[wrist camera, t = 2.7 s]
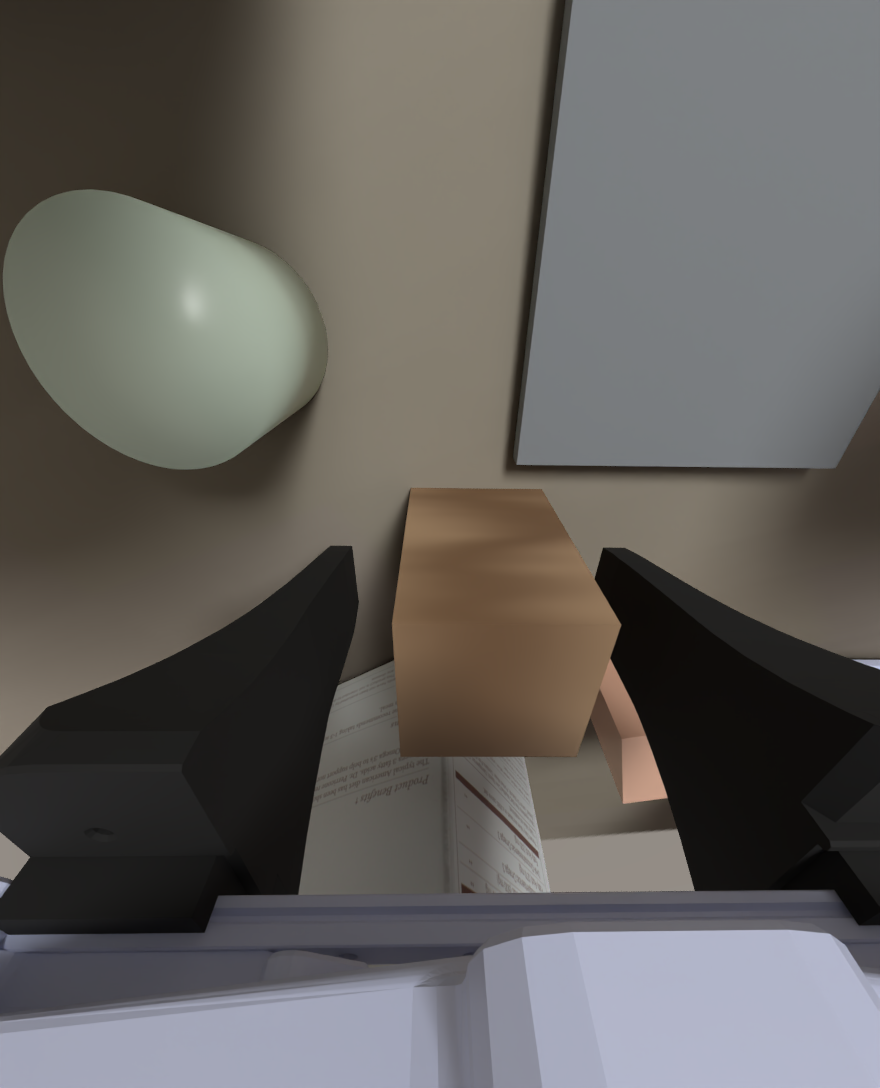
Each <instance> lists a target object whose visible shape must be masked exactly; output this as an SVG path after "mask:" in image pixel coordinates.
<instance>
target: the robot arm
mask: <svg viewBox="0 0 880 1088" xmlns="http://www.w3.org/2000/svg"><path fill="white" fill-rule="evenodd" d="M595 581H596V583H597V584H598V586H599V588H600V589H601V591H602V593H603V595H604V596H605V598H606V600H607V601H608V603H609V605H610V607H611V608H612V610H613V612H614V613H615V615H616V617H617V618H618V620H619V622H620V624H621V627H620V630H619V633H618V636H617V639H616V642H615V645H614V648H613V651H612V654H611V657H610V659H611V661H612V663H613V665H614V667H615V669H616V671H617V673H618V675H619V677H620V679H621V681H622V683H623V685H624V687H625V689H626V691H627V693H628V695H629V697H630V699H631V701H632V703H633V705H634V707H635V710H636V712H637V714H638V716H639V719H640V721H641V724H642V727H643V729H644V732H645V734H646V737H647V740H648V742H649V745H650V748H651V750H652V753H653V756H654V759H655V762H656V765H657V768H658V770H659V773H660V776H661V779H662V782H663V785H664V788H665V791H666V794H667V797H668V800H669V803H670V807H671V810H672V813H673V816H674V819H675V823H676V826H677V829H678V832H679V835H680V839H681V842H682V846H683V850H684V853H685V857H686V860H687V864H688V868H689V871H690V875H691V878H692V882H693V886H694V889H695V891H662V892H661V891H660V892H657V891H656V892H555V893H554V892H548V893H440V894H333V895H298V893H299V887H300V880H301V873H302V866H303V860H304V853H305V846H306V840H307V833H308V827H309V821H310V815H311V809H312V803H313V797H314V791H315V786H316V780H317V775H318V769H319V764H320V759H321V753H322V748H323V743H324V738H325V733H326V728H327V723H328V718H329V714H330V710H331V706H332V702H333V699H334V696H335V692H336V689H337V686H338V683H339V679H340V676H341V673H342V670H343V667H344V663H345V660H346V657H347V653H348V650H349V647H350V644H351V640H352V637H353V633H354V628H355V623H356V617H357V610H358V604H359V600H358V592H357V584H356V575H355V567H354V558H353V550H352V546H330V547H329V548H327V549H326V550H325V551H324V552H323V553H322V554H320V555H319V556H318V557H317V558H316V559H315V560H314V561H313V562H311V563H310V564H309V565H308V566H307V567H306V568H305V569H303V570H302V571H301V572H300V573H299V574H298V575H296V576H295V577H294V578H293V579H292V580H291V581H289V582H288V583H287V584H286V585H284V586H283V587H282V588H280V589H279V590H278V591H276V592H275V593H274V594H273V595H271V596H270V597H269V598H267V599H266V600H265V601H263V602H262V603H261V604H259V605H258V606H257V607H255V608H254V609H252V610H251V611H249V612H248V613H246V614H245V615H243V616H242V617H240V618H239V619H237V620H235V621H234V622H232V623H231V624H229V625H228V626H226V627H224V628H223V629H221V630H219V631H217V632H216V633H214V634H212V635H210V636H208V637H206V638H205V639H203V640H201V641H199V642H197V643H195V644H193V645H192V646H190V647H188V648H186V649H184V650H182V651H180V652H178V653H176V654H174V655H172V656H170V657H168V658H166V659H164V660H162V661H160V662H158V663H156V664H153V665H151V666H149V667H147V668H144V669H142V670H140V671H138V672H136V673H133V674H131V675H129V676H126V677H124V678H122V679H119V680H117V681H114V682H112V683H109V684H107V685H104V686H102V687H99V688H96V689H94V690H91V691H89V692H86V693H84V694H81V695H78V696H76V697H73V698H71V699H68V700H65V701H63V702H60V703H57V704H54V705H52V706H49V707H47V708H46V709H45V710H44V711H43V712H42V713H41V714H40V715H39V717H38V718H37V719H36V720H35V721H34V722H33V723H32V724H31V725H30V726H29V727H28V728H27V729H26V730H25V731H24V732H23V733H22V734H21V735H20V736H19V737H18V738H17V739H16V740H15V741H14V742H13V743H12V744H11V745H10V746H9V747H8V749H7V750H6V751H5V752H4V753H3V754H2V755H1V756H0V832H1V833H2V834H3V835H5V836H6V837H7V838H8V839H9V840H10V841H12V842H13V843H14V844H15V845H17V846H18V847H19V848H20V849H21V850H22V851H24V852H25V853H26V854H27V855H29V856H30V858H29V860H28V861H27V863H26V864H25V865H24V867H23V868H22V869H21V871H20V872H19V873H18V875H17V876H16V877H15V879H14V880H11V879H8V878H4V877H0V1088H880V660H851V659H849V658H846V657H843V656H840V655H838V654H835V653H832V652H830V651H827V650H825V649H822V648H820V647H817V646H814V645H812V644H809V643H807V642H804V641H802V640H799V639H797V638H794V637H792V636H790V635H787V634H785V633H783V632H780V631H778V630H776V629H774V628H772V627H769V626H767V625H765V624H763V623H761V622H759V621H756V620H754V619H752V618H750V617H748V616H746V615H744V614H742V613H740V612H738V611H736V610H734V609H732V608H730V607H728V606H726V605H724V604H722V603H721V602H719V601H717V600H715V599H713V598H711V597H709V596H708V595H706V594H704V593H702V592H700V591H699V590H697V589H695V588H693V587H692V586H690V585H688V584H687V583H685V582H683V581H681V580H680V579H678V578H676V577H675V576H673V575H671V574H670V573H668V572H666V571H665V570H663V569H661V568H660V567H658V566H656V565H655V564H653V563H651V562H650V561H648V560H646V559H645V558H643V557H641V556H639V555H638V554H636V553H634V552H632V551H630V550H628V549H626V548H603V550H602V554H601V557H600V561H599V565H598V569H597V572H596V576H595ZM382 964H397V965H389V966H381V967H373V968H369V967H368V965H382Z"/></svg>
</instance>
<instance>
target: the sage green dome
mask: <svg viewBox="0 0 880 1088" xmlns="http://www.w3.org/2000/svg"><path fill="white" fill-rule="evenodd" d="M3 293H4V299H5V305H6V310H7V315H8V318H9V321H10V325H11V328H12V331H13V334H14V336H15V339H16V341H17V343H18V346H19V348H20V350H21V352H22V354H23V356H24V358H25V360H26V361H27V363H28V365H29V367H30V369H31V370H32V372H33V373H34V375H35V376H36V378H37V379H38V381H39V382H40V384H41V385H42V386H43V388H44V389H45V390H46V391H47V393H48V394H49V395H50V396H51V398H52V399H53V400H54V401H55V402H56V403H57V404H58V405H59V406H60V407H61V409H62V410H63V411H64V412H65V413H66V414H67V415H68V416H69V417H71V418H72V419H73V420H74V421H75V422H76V423H77V424H78V425H79V426H81V427H82V428H83V429H84V430H86V431H87V432H88V433H90V434H91V435H92V436H94V437H95V438H97V439H98V440H100V441H101V442H103V443H104V444H106V445H108V446H109V447H111V448H113V449H115V450H117V451H118V452H120V453H122V454H124V455H126V456H129V457H131V458H134V459H136V460H139V461H141V462H144V463H148V464H151V465H154V466H159V467H164V468H170V469H181V470H190V469H202V468H207V467H212V466H215V465H218V464H221V463H224V462H226V461H227V460H229V459H231V458H233V457H235V456H236V455H238V454H239V453H240V452H242V451H243V450H244V449H246V448H247V447H249V446H250V445H251V444H253V443H254V442H255V441H257V440H258V439H260V438H261V437H262V436H264V435H265V434H266V433H268V432H269V431H270V430H272V429H273V428H275V427H276V426H277V425H279V424H280V423H281V422H283V421H284V420H285V419H287V418H288V417H290V416H291V415H292V414H294V413H295V412H296V411H298V410H299V409H300V408H302V407H303V406H304V405H306V404H307V403H308V402H309V401H310V400H311V399H312V398H313V396H314V395H315V393H316V392H317V390H318V389H319V387H320V385H321V383H322V380H323V377H324V374H325V371H326V366H327V358H328V342H327V334H326V329H325V324H324V321H323V318H322V314H321V312H320V310H319V307H318V305H317V302H316V301H315V299H314V297H313V295H312V293H311V291H310V290H309V288H308V287H307V285H306V284H305V283H304V281H303V280H302V279H301V277H300V276H299V275H298V274H297V273H296V272H295V270H294V269H293V268H292V267H291V266H289V265H288V264H287V263H286V262H285V261H284V260H283V259H282V258H280V257H279V256H277V255H276V254H275V253H273V252H272V251H270V250H268V249H267V248H265V247H263V246H261V245H259V244H256V243H254V242H252V241H249V240H246V239H244V238H241V237H238V236H236V235H233V234H230V233H227V232H225V231H222V230H219V229H217V228H214V227H211V226H209V225H206V224H203V223H201V222H198V221H195V220H192V219H190V218H187V217H184V216H182V215H179V214H176V213H174V212H171V211H168V210H166V209H163V208H160V207H157V206H155V205H152V204H149V203H147V202H144V201H141V200H139V199H136V198H133V197H130V196H126V195H123V194H119V193H115V192H111V191H102V190H92V189H88V190H73V191H68V192H65V193H61V194H57V195H54V196H52V197H50V198H48V199H46V200H44V201H42V202H40V203H39V204H37V205H36V206H35V207H34V208H32V209H31V210H30V211H29V212H27V213H26V215H25V216H24V217H23V218H22V220H21V221H20V222H19V224H18V225H17V226H16V228H15V230H14V232H13V234H12V236H11V238H10V240H9V243H8V247H7V250H6V254H5V258H4V267H3Z"/></svg>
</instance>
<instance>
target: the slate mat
mask: <svg viewBox="0 0 880 1088" xmlns="http://www.w3.org/2000/svg"><path fill="white" fill-rule="evenodd" d="M879 390H880V0H565V9H564V18H563V26H562V35H561V44H560V53H559V61H558V70H557V79H556V87H555V96H554V105H553V114H552V122H551V131H550V140H549V148H548V157H547V166H546V175H545V183H544V192H543V201H542V210H541V218H540V227H539V236H538V244H537V253H536V262H535V271H534V279H533V288H532V297H531V305H530V314H529V323H528V332H527V340H526V349H525V358H524V366H523V375H522V384H521V393H520V401H519V410H518V419H517V428H516V436H515V445H514V454H513V459H514V461H515V463H516V464H517V465H577V466H665V467H753V468H836V466H837V464H838V463H839V461H840V459H841V457H842V455H843V454H844V452H845V450H846V448H847V447H848V445H849V443H850V441H851V439H852V438H853V436H854V434H855V432H856V431H857V429H858V427H859V425H860V423H861V422H862V420H863V418H864V416H865V414H866V413H867V411H868V409H869V407H870V406H871V404H872V402H873V400H874V398H875V397H876V395H877V393H878V391H879Z"/></svg>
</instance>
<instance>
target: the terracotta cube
mask: <svg viewBox="0 0 880 1088" xmlns="http://www.w3.org/2000/svg"><path fill="white" fill-rule="evenodd" d="M590 718H591V721H592V723H593V726H594V728H595V731H596V734H597V736H598V739H599V742H600V744H601V747H602V750H603V752H604V755H605V758H606V760H607V763H608V766H609V768H610V771H611V773H612V776H613V779H614V781H615V784H616V787H617V789H618V792H619V795H620V797H621V800H622V803H623V804H625V803H632V802H640V801H648V800H655V799H663V798H668V797H667V794H666V791H665V788H664V785H663V782H662V779H661V776H660V773H659V770H658V768H657V765H656V762H655V759H654V756H653V753H652V750H651V748H650V745H649V742H648V740H647V737H646V734H645V732H644V729H643V727H642V724H641V721H640V719H639V716H638V714H637V712H636V710H635V707H634V705H633V703H632V701H631V699H630V697H629V695H628V693H627V691H626V689H625V687H624V685H623V683H622V681H621V679H620V677H619V675H618V673H617V671H616V669H615V667H614V665H613V663H612V661H611V659H610V660H609V663H608V666H607V669H606V672H605V675H604V678H603V680H602V683H601V686H600V689H599V692H598V695H597V698H596V701H595V704H594V707H593V710H592V713H591V716H590Z"/></svg>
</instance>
